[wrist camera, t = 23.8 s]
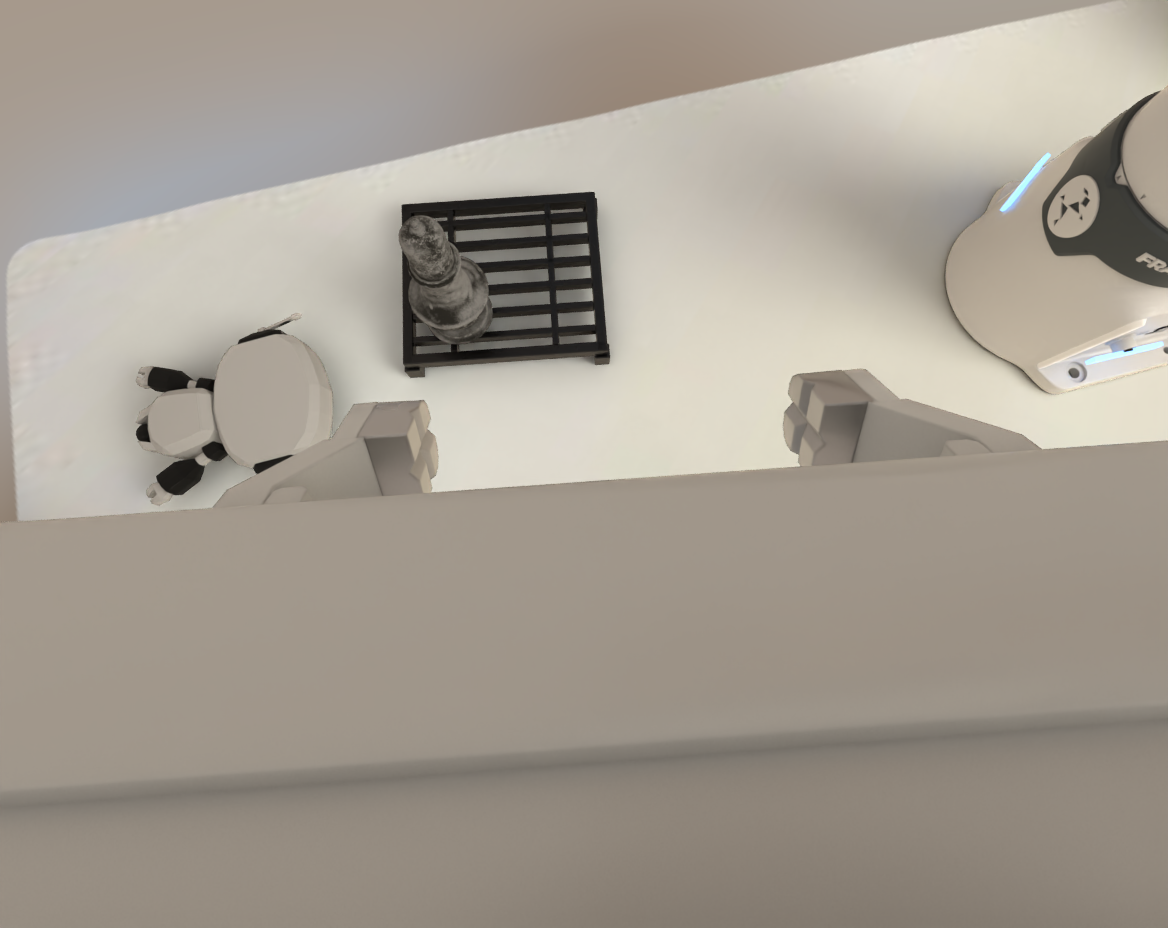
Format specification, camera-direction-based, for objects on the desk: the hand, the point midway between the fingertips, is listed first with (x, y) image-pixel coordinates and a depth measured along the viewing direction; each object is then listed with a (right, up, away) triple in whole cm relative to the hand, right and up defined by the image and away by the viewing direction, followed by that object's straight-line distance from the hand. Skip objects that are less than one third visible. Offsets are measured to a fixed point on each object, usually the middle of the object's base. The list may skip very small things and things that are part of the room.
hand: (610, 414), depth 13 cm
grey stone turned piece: (-10, +11, +32) cm, 35 cm away
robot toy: (-27, +2, +33) cm, 43 cm away
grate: (-7, +14, +35) cm, 38 cm away
